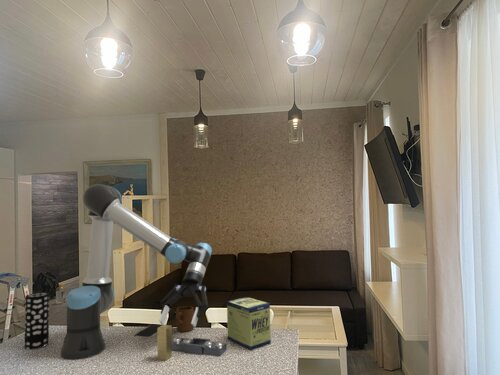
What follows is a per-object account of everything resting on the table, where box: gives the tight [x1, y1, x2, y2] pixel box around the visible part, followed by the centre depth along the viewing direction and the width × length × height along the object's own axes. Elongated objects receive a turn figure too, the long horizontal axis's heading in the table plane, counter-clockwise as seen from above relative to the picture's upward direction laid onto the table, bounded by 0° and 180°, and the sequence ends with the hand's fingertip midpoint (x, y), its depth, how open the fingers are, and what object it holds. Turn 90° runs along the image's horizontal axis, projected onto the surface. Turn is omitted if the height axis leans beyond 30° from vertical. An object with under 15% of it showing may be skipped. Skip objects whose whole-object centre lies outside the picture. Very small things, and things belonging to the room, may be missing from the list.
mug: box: [175, 305, 195, 333], centre depth 153 cm, size 12×8×9 cm, turn 166°
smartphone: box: [133, 323, 163, 339], centre depth 153 cm, size 8×1×15 cm
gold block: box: [157, 324, 173, 362], centre depth 125 cm, size 4×4×11 cm
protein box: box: [226, 296, 272, 351], centre depth 139 cm, size 10×16×16 cm
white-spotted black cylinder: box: [23, 292, 50, 350], centre depth 141 cm, size 8×8×20 cm
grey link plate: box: [172, 337, 228, 357], centre depth 131 cm, size 21×7×3 cm, turn 71°
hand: (176, 324), depth 130 cm, fingers open, 13 cm apart
